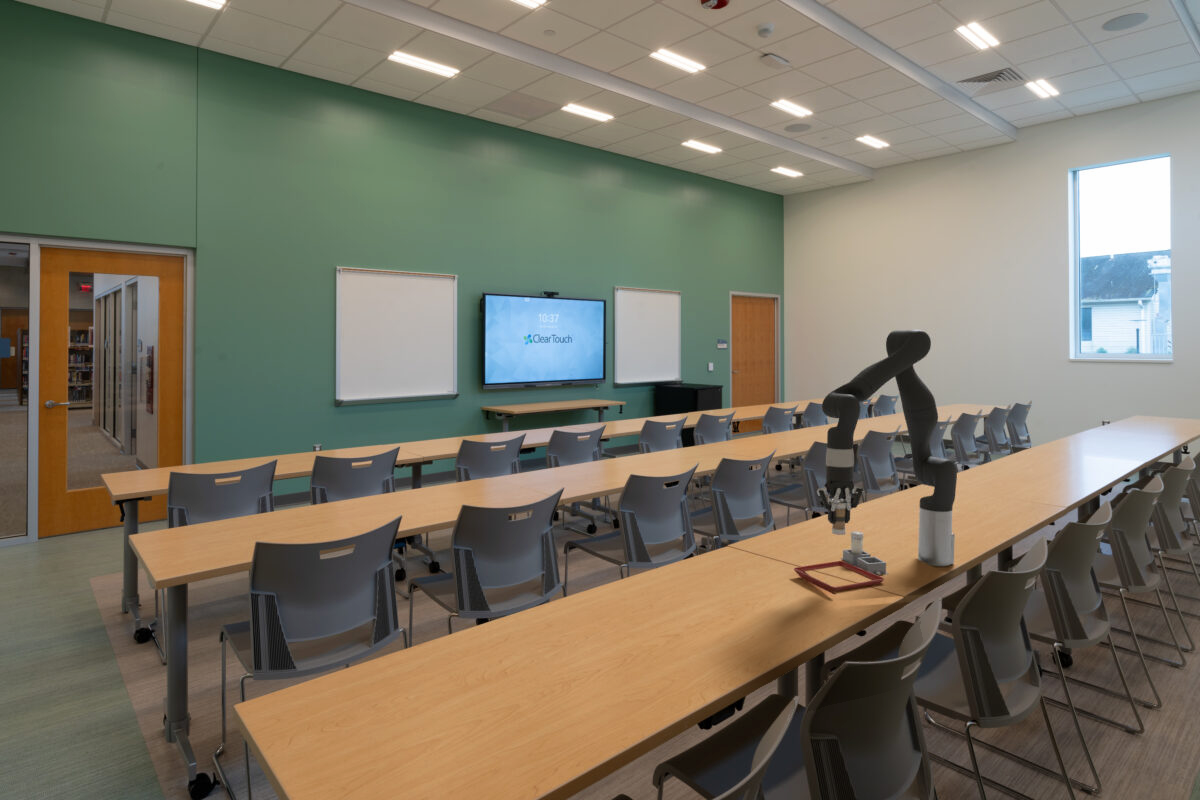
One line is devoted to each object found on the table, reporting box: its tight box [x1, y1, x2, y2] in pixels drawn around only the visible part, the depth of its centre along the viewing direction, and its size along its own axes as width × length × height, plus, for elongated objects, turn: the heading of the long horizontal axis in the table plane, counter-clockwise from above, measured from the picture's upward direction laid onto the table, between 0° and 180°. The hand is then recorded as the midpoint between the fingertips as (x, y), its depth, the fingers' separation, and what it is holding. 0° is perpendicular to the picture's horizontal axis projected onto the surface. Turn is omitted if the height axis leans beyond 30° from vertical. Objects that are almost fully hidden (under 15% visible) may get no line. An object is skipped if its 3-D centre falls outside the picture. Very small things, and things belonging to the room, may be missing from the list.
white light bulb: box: [850, 531, 864, 555], centre depth 202 cm, size 4×4×9 cm
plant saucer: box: [793, 560, 885, 595], centre depth 189 cm, size 18×18×3 cm
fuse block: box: [839, 548, 889, 576], centre depth 199 cm, size 6×16×4 cm, turn 9°
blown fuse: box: [831, 500, 846, 536], centre depth 188 cm, size 4×4×9 cm
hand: (838, 522), depth 188 cm, fingers closed on blown fuse, 3 cm apart
